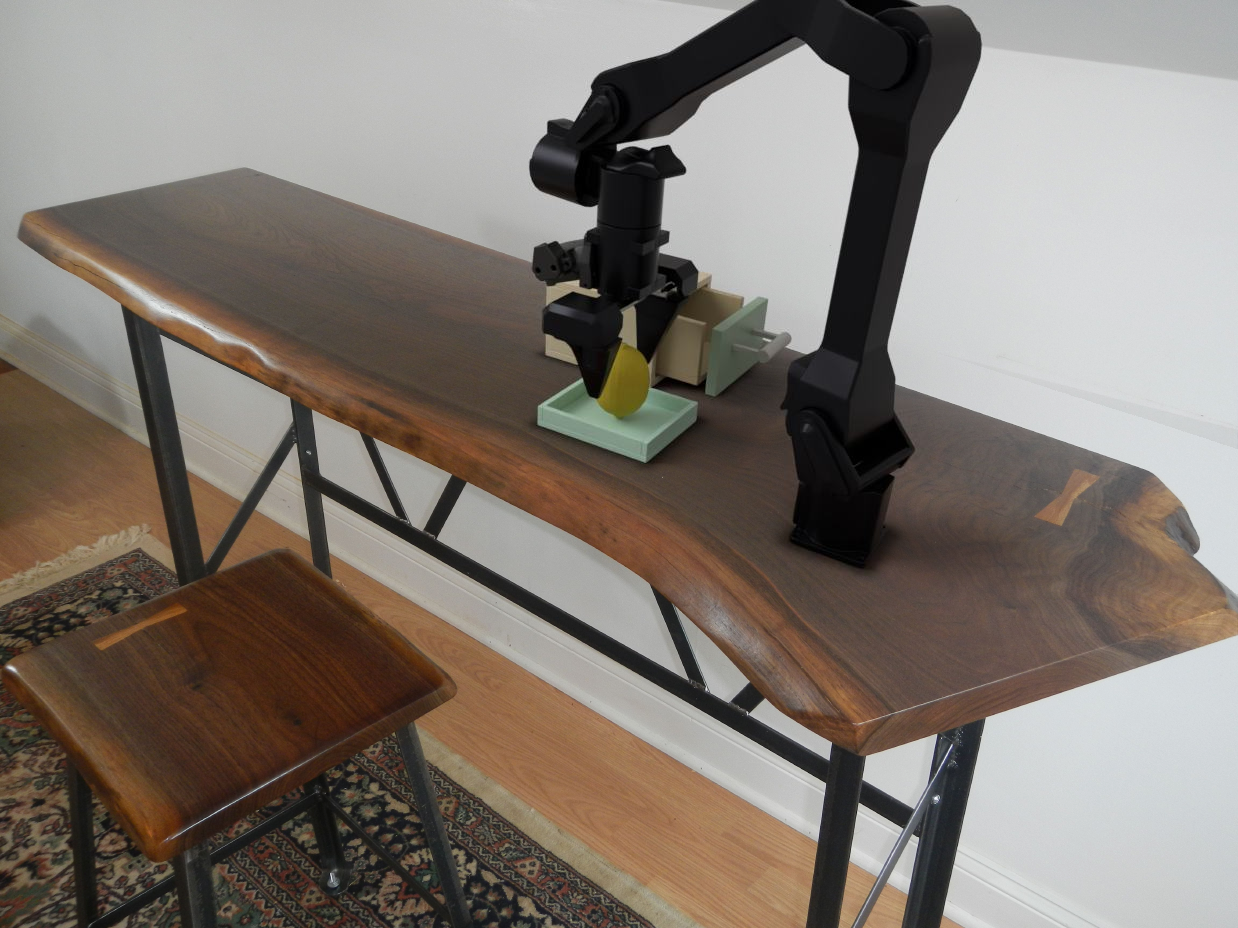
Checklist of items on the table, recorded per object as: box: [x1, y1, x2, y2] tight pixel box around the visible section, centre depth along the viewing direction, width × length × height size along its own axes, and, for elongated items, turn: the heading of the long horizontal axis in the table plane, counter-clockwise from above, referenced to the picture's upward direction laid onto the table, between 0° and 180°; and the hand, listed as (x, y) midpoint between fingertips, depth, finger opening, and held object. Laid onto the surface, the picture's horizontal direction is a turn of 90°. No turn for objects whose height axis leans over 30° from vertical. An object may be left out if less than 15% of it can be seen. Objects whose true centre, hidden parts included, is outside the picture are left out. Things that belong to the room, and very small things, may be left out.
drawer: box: [655, 286, 793, 398], centre depth 102 cm, size 17×11×7 cm
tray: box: [537, 377, 699, 464], centre depth 94 cm, size 12×10×2 cm
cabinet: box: [545, 270, 713, 388], centre depth 106 cm, size 14×13×9 cm
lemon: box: [596, 342, 650, 419], centre depth 92 cm, size 6×6×8 cm
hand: (619, 380), depth 92 cm, fingers open, 9 cm apart
